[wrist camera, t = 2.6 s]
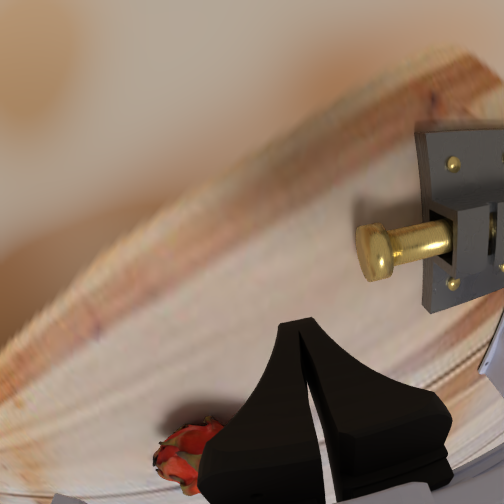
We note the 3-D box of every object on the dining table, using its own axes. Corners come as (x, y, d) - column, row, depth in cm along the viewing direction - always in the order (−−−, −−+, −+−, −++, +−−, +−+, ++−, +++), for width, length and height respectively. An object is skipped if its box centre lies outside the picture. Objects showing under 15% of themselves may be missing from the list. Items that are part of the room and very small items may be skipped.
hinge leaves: (505, 275, 22) (535, 297, 17) (421, 304, 22) (448, 335, 18) (507, 128, 17) (545, 132, 13) (414, 133, 18) (451, 134, 14)
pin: (485, 237, 20) (511, 252, 16) (358, 268, 20) (375, 291, 17) (485, 194, 18) (514, 205, 15) (353, 220, 19) (372, 236, 16)
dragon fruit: (279, 414, 28) (173, 418, 31) (254, 411, 21) (126, 411, 24) (284, 492, 24) (176, 487, 26) (260, 513, 17) (128, 496, 19)
